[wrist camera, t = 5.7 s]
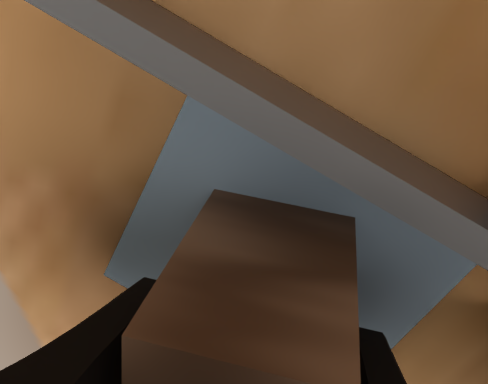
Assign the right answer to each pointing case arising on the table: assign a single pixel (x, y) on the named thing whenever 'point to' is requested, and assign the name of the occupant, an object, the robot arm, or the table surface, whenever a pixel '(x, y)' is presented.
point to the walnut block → (251, 300)
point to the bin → (284, 117)
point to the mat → (290, 192)
